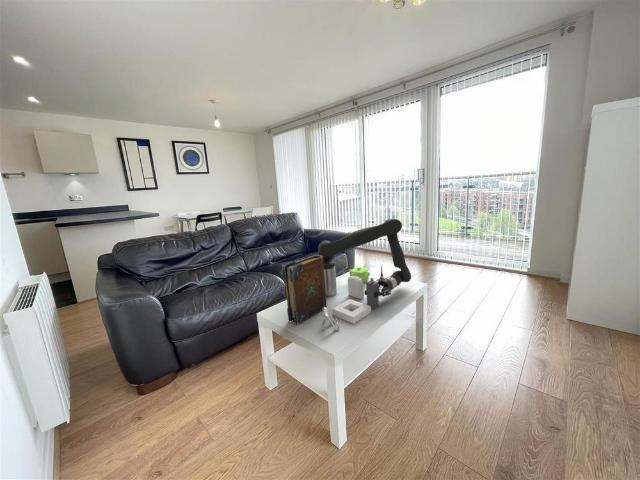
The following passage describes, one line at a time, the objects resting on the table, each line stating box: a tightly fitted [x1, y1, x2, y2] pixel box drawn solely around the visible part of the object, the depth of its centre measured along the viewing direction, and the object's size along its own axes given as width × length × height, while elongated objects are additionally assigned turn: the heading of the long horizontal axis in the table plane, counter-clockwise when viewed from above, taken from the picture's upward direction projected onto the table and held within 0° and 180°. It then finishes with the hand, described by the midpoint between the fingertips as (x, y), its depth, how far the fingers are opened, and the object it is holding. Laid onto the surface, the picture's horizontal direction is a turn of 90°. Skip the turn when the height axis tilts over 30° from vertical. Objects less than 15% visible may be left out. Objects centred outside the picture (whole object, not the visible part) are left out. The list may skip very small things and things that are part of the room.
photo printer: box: [347, 275, 365, 300], centre depth 152 cm, size 10×4×12 cm, turn 39°
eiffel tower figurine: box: [375, 265, 385, 282], centre depth 169 cm, size 15×10×13 cm
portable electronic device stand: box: [321, 307, 340, 332], centre depth 121 cm, size 9×8×8 cm
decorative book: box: [281, 254, 328, 326], centre depth 133 cm, size 23×7×30 cm, turn 137°
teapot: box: [348, 264, 371, 285], centre depth 173 cm, size 15×13×11 cm
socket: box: [332, 298, 372, 324], centre depth 133 cm, size 14×14×4 cm
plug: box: [365, 277, 380, 310], centre depth 137 cm, size 4×4×16 cm
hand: (369, 294), depth 135 cm, fingers open, 5 cm apart
